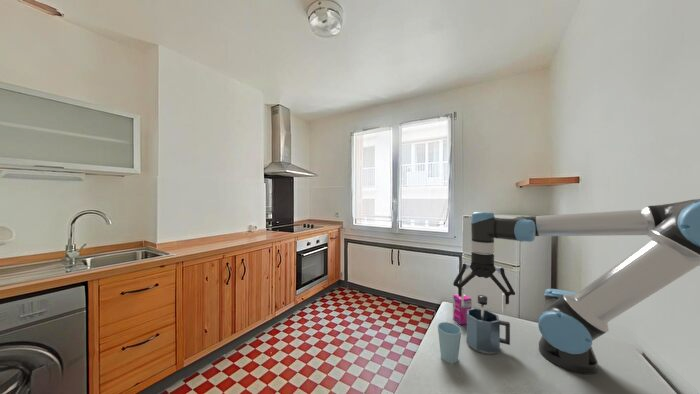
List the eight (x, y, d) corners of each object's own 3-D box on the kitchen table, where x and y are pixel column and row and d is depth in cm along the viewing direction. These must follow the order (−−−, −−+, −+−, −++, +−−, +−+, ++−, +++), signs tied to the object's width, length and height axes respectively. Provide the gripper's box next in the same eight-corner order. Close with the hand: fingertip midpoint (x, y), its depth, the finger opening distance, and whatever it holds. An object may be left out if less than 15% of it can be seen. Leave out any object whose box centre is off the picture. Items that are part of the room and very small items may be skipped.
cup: (466, 361, 79) (466, 330, 80) (450, 368, 76) (449, 336, 76) (449, 348, 86) (448, 320, 86) (433, 354, 83) (433, 324, 83)
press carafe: (507, 343, 89) (507, 313, 90) (512, 361, 80) (512, 327, 80) (466, 334, 95) (466, 306, 96) (466, 349, 86) (466, 318, 86)
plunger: (494, 336, 90) (494, 294, 90) (496, 348, 83) (496, 303, 83) (469, 330, 94) (469, 290, 94) (470, 341, 86) (470, 298, 87)
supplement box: (452, 318, 108) (452, 294, 108) (463, 317, 109) (463, 293, 109) (460, 325, 102) (460, 299, 102) (472, 324, 103) (472, 298, 104)
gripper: (520, 253, 87) (520, 311, 86) (447, 247, 97) (447, 298, 97) (525, 258, 80) (525, 320, 80) (446, 251, 91) (446, 305, 90)
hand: (482, 308), depth 88 cm, fingers open, 13 cm apart
